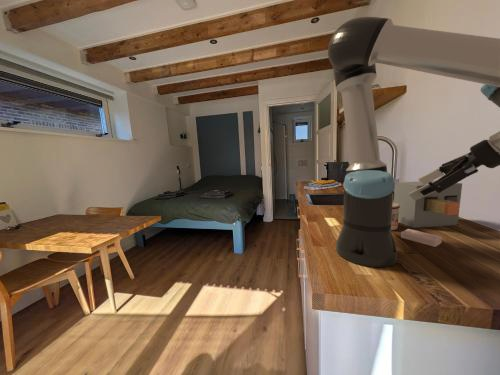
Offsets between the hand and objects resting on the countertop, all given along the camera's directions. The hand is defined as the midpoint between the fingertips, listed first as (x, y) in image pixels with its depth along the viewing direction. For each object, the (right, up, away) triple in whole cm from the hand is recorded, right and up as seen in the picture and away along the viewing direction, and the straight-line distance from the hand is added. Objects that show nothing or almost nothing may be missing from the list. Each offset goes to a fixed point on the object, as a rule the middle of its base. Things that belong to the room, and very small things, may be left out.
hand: (416, 189), depth 69 cm
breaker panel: (+12, -14, +11) cm, 22 cm away
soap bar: (-2, -17, -4) cm, 18 cm away
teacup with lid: (-4, -15, +9) cm, 18 cm away
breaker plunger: (+10, -8, +2) cm, 13 cm away
